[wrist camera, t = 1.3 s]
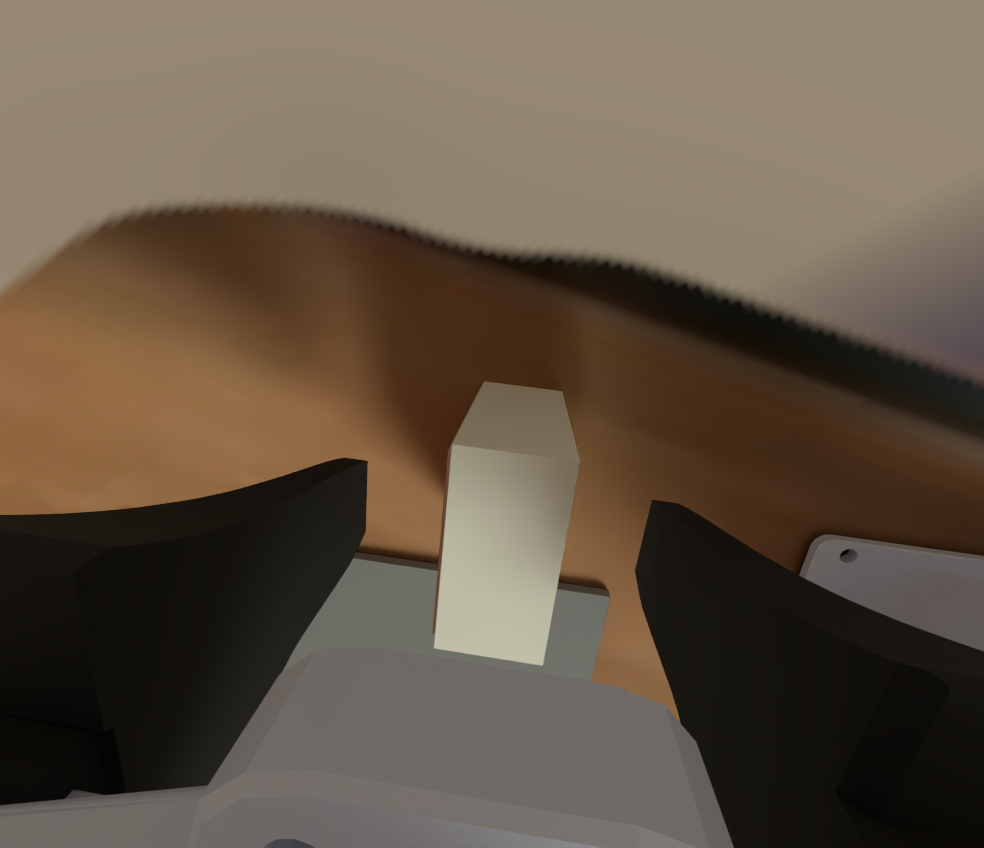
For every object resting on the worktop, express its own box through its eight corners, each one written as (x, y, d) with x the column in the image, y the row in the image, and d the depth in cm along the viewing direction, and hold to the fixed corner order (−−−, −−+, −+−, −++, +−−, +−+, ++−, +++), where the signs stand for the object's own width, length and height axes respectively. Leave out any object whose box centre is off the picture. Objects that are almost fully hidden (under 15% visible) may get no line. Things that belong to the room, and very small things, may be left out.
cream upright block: (562, 391, 14) (580, 461, 9) (539, 529, 16) (542, 665, 10) (481, 380, 15) (447, 443, 9) (466, 518, 16) (429, 647, 10)
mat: (608, 589, 16) (609, 597, 16) (553, 833, 20) (554, 843, 20) (133, 518, 17) (124, 523, 17) (169, 764, 21) (162, 773, 21)
